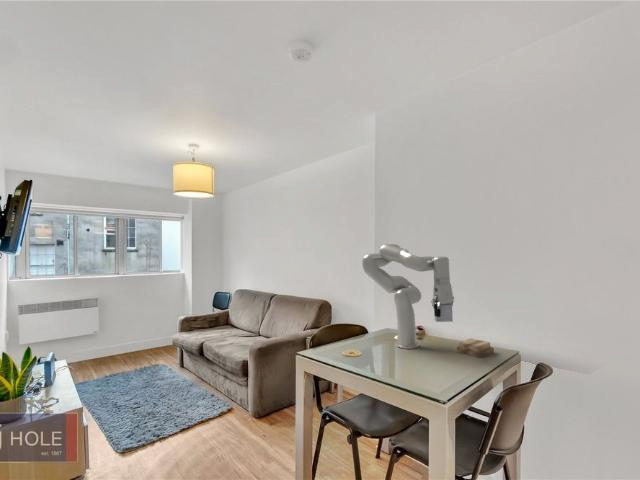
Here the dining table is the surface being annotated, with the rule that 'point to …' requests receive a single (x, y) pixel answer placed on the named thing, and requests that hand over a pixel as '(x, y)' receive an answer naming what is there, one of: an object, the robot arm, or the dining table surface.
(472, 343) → the brown rock slab
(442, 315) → the medicine box
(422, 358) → the dining table surface
